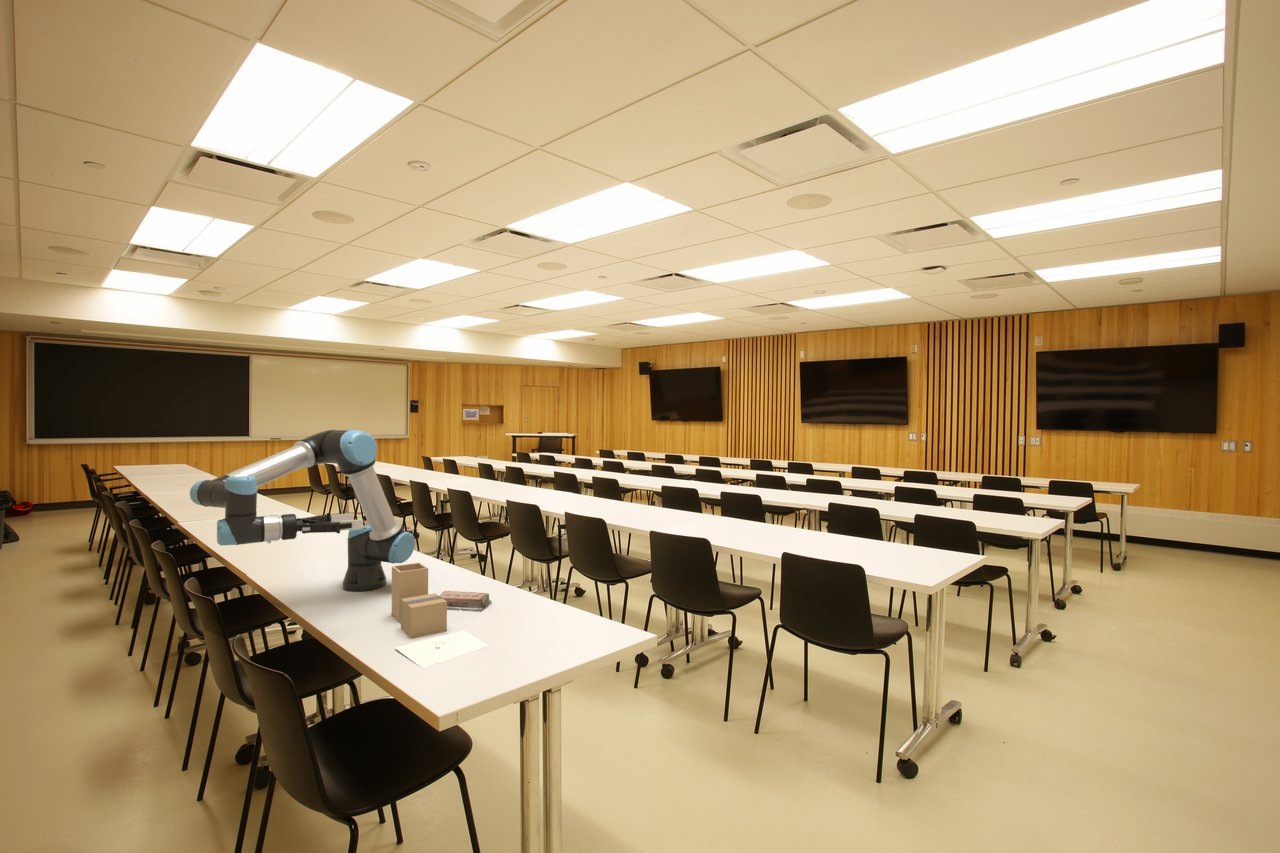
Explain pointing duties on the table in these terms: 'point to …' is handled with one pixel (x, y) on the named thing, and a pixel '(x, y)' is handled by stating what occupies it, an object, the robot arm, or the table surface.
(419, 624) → the brown cardboard block
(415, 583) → the tan tall box
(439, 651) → the paper sheet
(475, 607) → the packaged product
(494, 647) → the table surface
